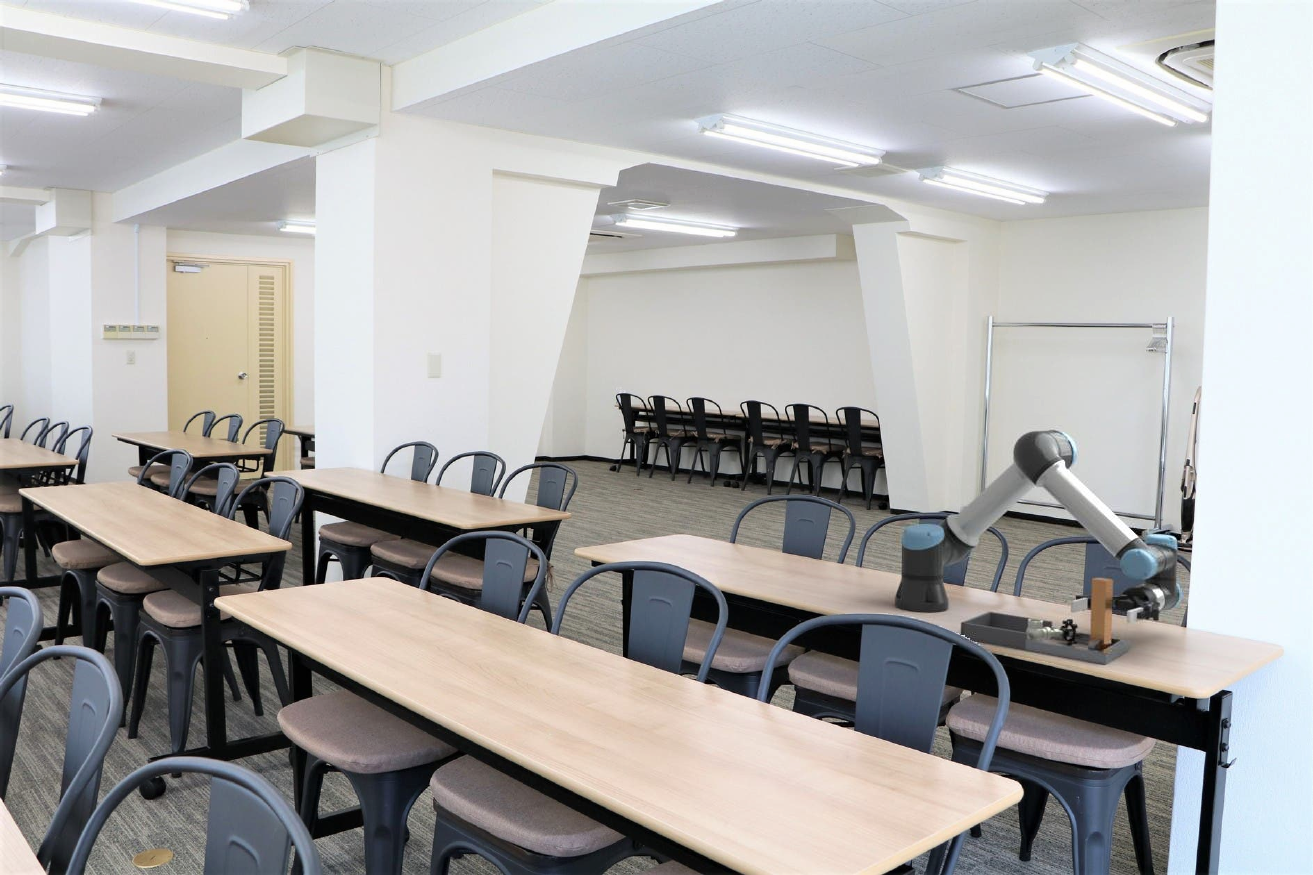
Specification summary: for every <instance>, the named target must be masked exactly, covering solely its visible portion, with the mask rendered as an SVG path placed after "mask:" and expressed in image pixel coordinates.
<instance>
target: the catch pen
mask: <svg viewBox="0 0 1313 875" xmlns="http://www.w3.org/2000/svg"><path fill="white" fill-rule="evenodd" d="M1028 619H1034V618H1032V617H1026V616H1019V615H1014V614H1007V613H1002V612H1001V613H1000V612H994V611H988V612H985V613H982V614H980V615H978V616H974V617H971V618H970V619H966V620H964V621H962V622H960V636H961V635H965V637H967V638H970V639H971V640H970V641H973V640H974V641H973V642H979V643H984V644H991V645H996V646H1002V647H1006V648H1013V649H1019V650H1023V651H1026V650H1025V646H1026V640H1027V633H1026V630H1027V628H1028ZM1041 620H1042V621H1043V627H1049V628H1052V627H1053V621H1051V620H1044V619H1041Z"/></svg>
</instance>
